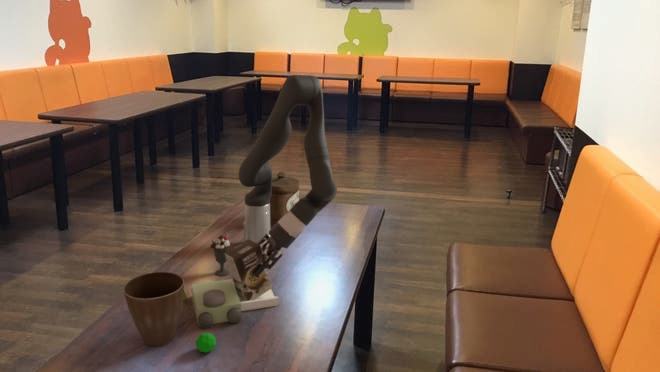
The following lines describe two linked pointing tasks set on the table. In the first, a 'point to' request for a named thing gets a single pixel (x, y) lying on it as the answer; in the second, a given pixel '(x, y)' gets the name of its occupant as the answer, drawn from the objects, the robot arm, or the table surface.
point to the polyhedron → (205, 342)
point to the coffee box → (247, 270)
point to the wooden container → (282, 196)
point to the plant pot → (155, 305)
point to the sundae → (221, 253)
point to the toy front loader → (224, 302)
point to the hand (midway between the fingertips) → (251, 269)
